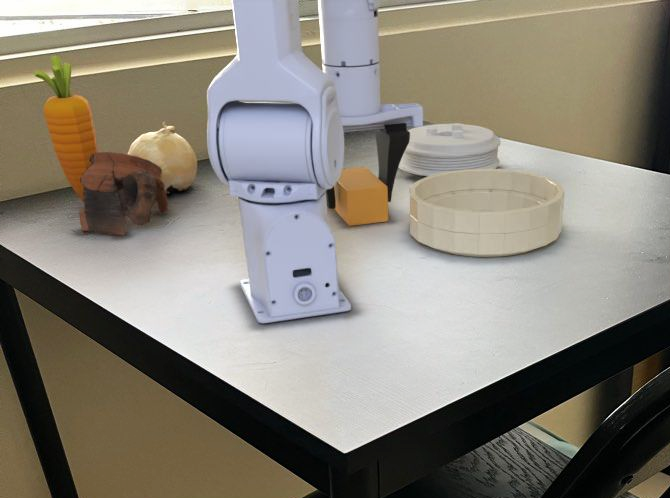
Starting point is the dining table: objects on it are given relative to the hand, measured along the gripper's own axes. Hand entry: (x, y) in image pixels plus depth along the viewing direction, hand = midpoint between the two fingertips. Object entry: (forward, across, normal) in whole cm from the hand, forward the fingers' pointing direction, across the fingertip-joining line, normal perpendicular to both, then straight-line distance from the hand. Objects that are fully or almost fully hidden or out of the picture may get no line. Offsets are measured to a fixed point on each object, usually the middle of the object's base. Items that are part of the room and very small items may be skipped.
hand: (357, 202), depth 95 cm
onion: (+1, +19, -17) cm, 26 cm away
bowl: (+1, -10, +12) cm, 16 cm away
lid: (+1, -15, -12) cm, 19 cm away
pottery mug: (+1, +24, -5) cm, 25 cm away
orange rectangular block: (+1, 0, 0) cm, 1 cm away
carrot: (+1, +28, -14) cm, 31 cm away
